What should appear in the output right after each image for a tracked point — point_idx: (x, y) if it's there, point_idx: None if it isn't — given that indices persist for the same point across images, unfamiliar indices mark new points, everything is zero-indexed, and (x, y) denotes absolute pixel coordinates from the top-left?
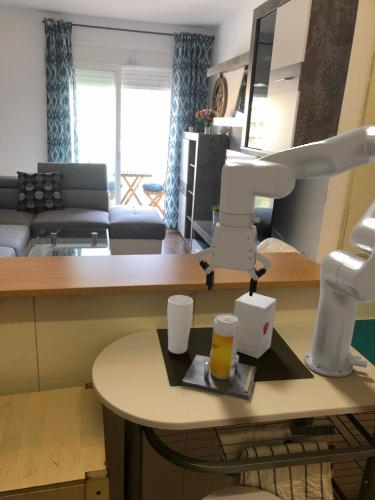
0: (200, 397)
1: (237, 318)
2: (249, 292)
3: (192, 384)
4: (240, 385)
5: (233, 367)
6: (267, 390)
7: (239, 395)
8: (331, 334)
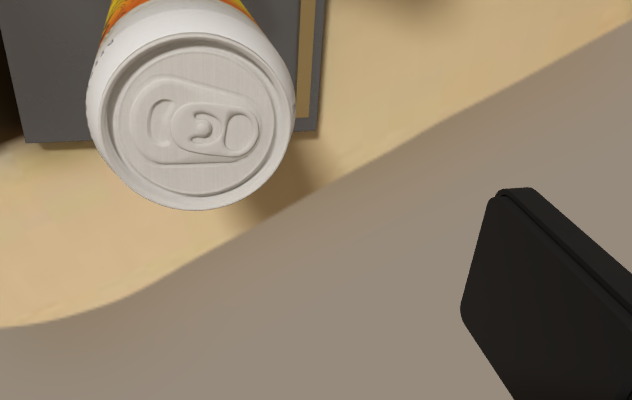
0: None
1: (281, 93)
2: (481, 344)
3: (77, 139)
4: None
5: None
6: (376, 32)
7: None
8: None
